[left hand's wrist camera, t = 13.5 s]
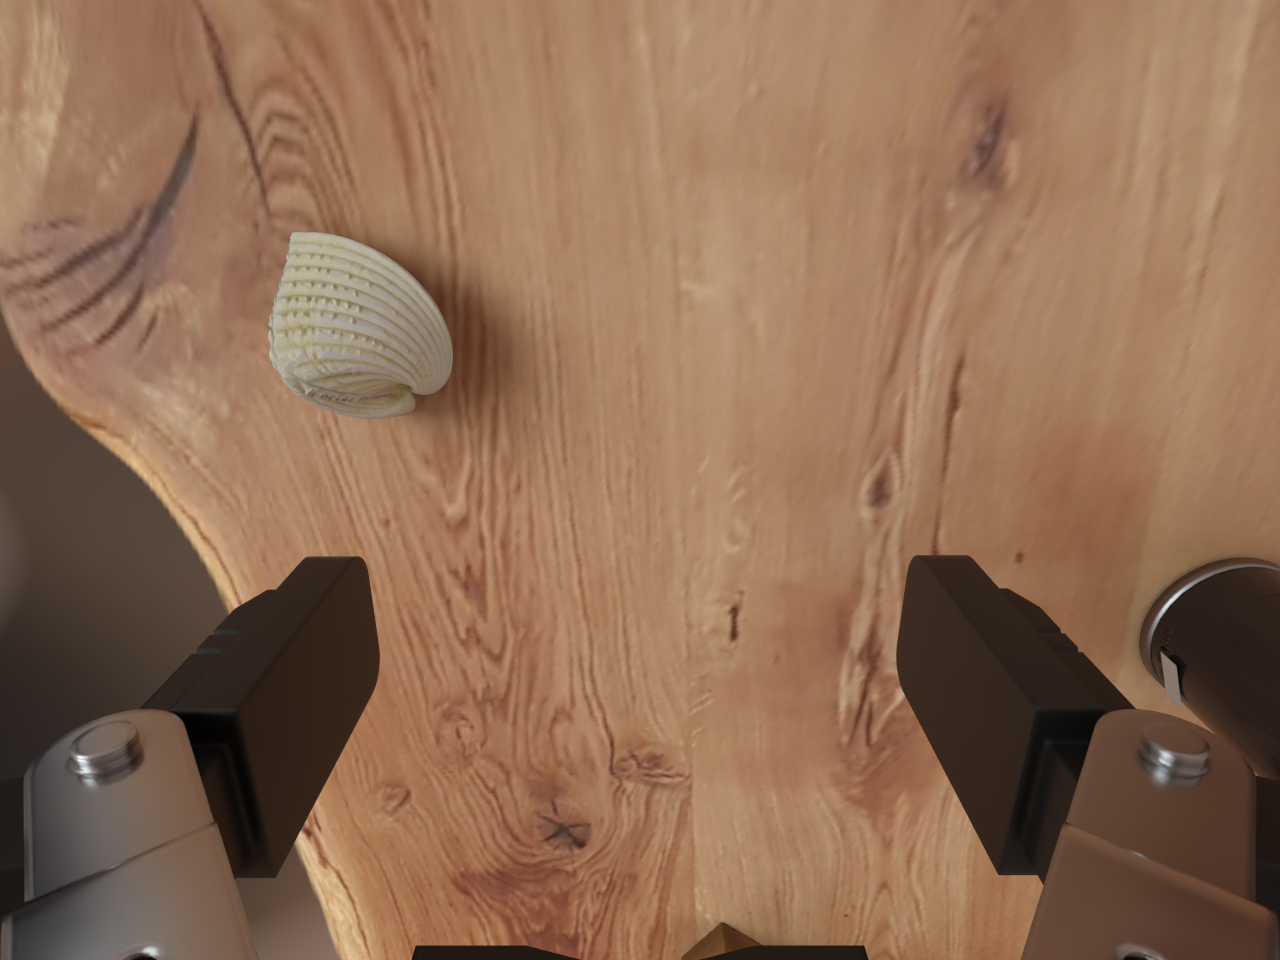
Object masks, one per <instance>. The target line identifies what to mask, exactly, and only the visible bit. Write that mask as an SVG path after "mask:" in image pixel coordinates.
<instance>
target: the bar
mask: <svg viewBox="0 0 1280 960" xmlns="http://www.w3.org/2000/svg"><path fill="white" fill-rule="evenodd" d="M751 946H761V945H759V944H758V943H756V942H754V941H753V940H751V939H749V938H747V937H746V936H744V935H742V934H741V933H739V932H737V931H736V930H734V929H732V928H730V927H729V926H727V925H725V924H724V923H721V924H719V925H718V926H717V927H716V928H715V929H714V930H713V931H711V932H710V933H709V934H708V935H707V936H706V937H705V938H703V939H702V940H701V941H700V942H699V943H698V944H697V945H695V946H694V947H693V948H692V949H691V950H690V951H688V952H687V953H686V954H685V955H684V956H683V957H682V958H681V960H701V959H704V958H708V957H712V956H716V955H720V954H724V953H728V952H731V951H735V950H739V949H743V948H747V947H751Z"/></svg>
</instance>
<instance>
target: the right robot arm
mask: <svg viewBox="0 0 1280 960" xmlns="http://www.w3.org/2000/svg"><path fill="white" fill-rule="evenodd" d="M1140 654H1141V658H1142V661H1143V663H1144V665H1145V667H1146V669H1147V670H1148V672H1149V673H1150V674H1151V675H1152V676H1153V677H1154V678H1155V679H1156V680H1157V681H1158V682H1159V683H1160V684H1161V685H1162V686H1163V687H1164V688H1165V689H1166V694H1167V695H1168V696H1169V697H1170V698H1171V699H1172V700H1173V701H1174V702H1175V703H1176V704H1177V705H1178V706H1179V707H1180V708H1181V709H1182V707H1181V702H1182V703H1183V704H1184V705H1185V706H1187V707H1188V708H1189V709H1190V710H1191V711H1192V712H1193V713H1194V714H1195V715H1196V716H1197V717H1198V718H1199V719H1200V720H1201V721H1202V722H1203V723H1204V724H1205V725H1206V726H1207V727H1208V728H1209V729H1210V730H1211V731H1212V732H1213V733H1214V734H1215V735H1217V736H1218V737H1220V738H1221V739H1223V740H1224V741H1226V742H1227V743H1229V744H1230V745H1231V746H1232V747H1234V748H1235V749H1236V750H1237V751H1238V752H1239V753H1240V754H1241V755H1242V756H1243V757H1244V758H1245V759H1246V760H1247V761H1248V763H1249V764H1250V765H1251V767H1252V769H1253V771H1254V772H1255V773H1256V774H1257V775H1258V776H1260V777H1265V778H1269V779H1274V780H1279V781H1280V567H1278V566H1276V565H1274V564H1271V563H1269V562H1266V561H1262V560H1258V559H1250V558H1235V559H1227V560H1221V561H1217V562H1213V563H1210V564H1207V565H1205V566H1202V567H1200V568H1198V569H1195V570H1194V571H1192V572H1190V573H1188V574H1186V575H1185V576H1183V577H1181V578H1180V579H1179V580H1177V581H1176V582H1174V583H1173V584H1172V585H1171V586H1170V587H1168V588H1167V589H1166V590H1165V591H1164V592H1163V593H1162V594H1161V596H1160V597H1159V598H1158V599H1157V600H1156V602H1155V603H1154V604H1153V606H1152V607H1151V609H1150V610H1149V612H1148V614H1147V616H1146V618H1145V620H1144V623H1143V626H1142V629H1141V634H1140Z"/></svg>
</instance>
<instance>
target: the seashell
mask: <svg viewBox="0 0 1280 960" xmlns="http://www.w3.org/2000/svg"><path fill="white" fill-rule="evenodd" d="M286 258H287V263H286V264H285V267H284V274H283V277H282V279H281V281H280V283H279V290H278V293H277V295H276V297H275V299H274V307H273V309H272V310H273V312H272V314H271V315H270V323H269V326H270V327H271V329H270V331H269V341H270V344H271V349H270V352H269V355H270V359H271V361H272V363H273V366H274V367H275V368H276V369H277V370H278V372H280V374H281V377H282V379H283V381H284V382H285V383H286V384H287V385H288V386H289V388H290V389H292V391H293V392H294V393H295V394H297V395H298V396H299V397H301V398H303V399H304V400H306V401H308V402H310V403H312V404H314V405H316V406H318V407H320V408H322V409H325V410H328V411H332V412H335V413H338V414H342V415H346V416H351V417H355V418H359V419H381V418H389V417H394V416H401V415H406V414H409V413H411V412H412V411H413V410H414V409H415V405H416V400H415V398H414V396H413V394H412V392H413V393H415V394H419V395H429V394H432V393H435V392H437V391H438V390H440V389H441V388H442V387H443V386H444V385H445V383H446V382H447V380H448V378H449V376H450V374H451V370H452V363H453V348H452V341H451V337H450V333H449V330H448V327H447V325H446V322H445V320H444V318H443V316H442V314H441V312H440V310H439V308H438V306H437V305H436V303H435V302H434V300H433V299H432V297H431V296H430V295H429V293H428V292H427V291H426V290H425V289H424V288H423V286H422V285H421V284H420V283H419V282H418V281H417V280H416V279H415V278H414V277H413V276H412V275H411V274H410V273H409V272H408V271H407V270H405V269H404V268H403V267H402V266H400V265H399V264H398V263H397V262H395V261H393V260H392V259H391V258H389V257H388V256H386V255H385V254H383V253H381V252H379V251H377V250H375V249H373V248H371V247H369V246H367V245H364V244H362V243H360V242H357V241H354V240H352V239H349V238H345V237H341V236H337V235H333V234H326V233H318V232H308V233H306V232H293V233H292V235H291V237H290V245H289V252H288V254H287V257H286Z"/></svg>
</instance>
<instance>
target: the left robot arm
mask: <svg viewBox="0 0 1280 960" xmlns="http://www.w3.org/2000/svg"><path fill="white" fill-rule="evenodd" d="M1060 630H1061V629H1060V628H1059V627H1058V626H1057V625H1056V624H1055V623H1054V622H1053V621H1052V620H1051V618H1050V617H1049V616H1048V615H1047V614H1046V613H1045V612H1044V611H1043V610H1042V609H1041V608H1040V607H1039V606H1037V605H1035V604H1033V603H1032V602H1030V601H1028V600H1027V599H1025V598H1023V597H1021V596H1020V595H1018V594H1016V593H1015V592H1013V591H1011V590H1009V589H1008V588H998V587H997V586H996V584H995V583H994V582H993V581H992V580H991V579H990V578H989V577H988V575H987V574H986V573H985V572H984V571H983V570H982V569H981V568H980V566H979V565H978V564H977V563H976V562H975V561H974V560H973V559H972V558H971V557H970V556H967V555H917V556H914V557H913V558H912V560H911V562H910V564H909V568H908V572H907V579H906V586H905V593H904V600H903V607H902V614H901V621H900V628H899V635H898V642H897V652H896V660H897V671H898V676H899V681H900V684H901V687H902V690H903V692H904V694H905V696H906V698H907V700H908V702H909V704H910V706H911V707H912V709H913V711H914V713H915V715H916V717H917V719H918V721H919V723H920V725H921V727H922V729H923V731H924V732H925V734H926V736H927V738H928V740H929V742H930V744H931V746H932V748H933V750H934V752H935V754H936V756H937V758H938V759H939V761H940V763H941V765H942V767H943V769H944V771H945V773H946V775H947V777H948V779H949V781H950V783H951V785H952V786H953V788H954V790H955V792H956V794H957V796H958V798H959V800H960V802H961V804H962V806H963V808H964V810H965V812H966V813H967V815H968V817H969V819H970V821H971V823H972V825H973V827H974V829H975V831H976V833H977V835H978V837H979V839H980V840H981V842H982V844H983V846H984V848H985V850H986V852H987V854H988V856H989V858H990V860H991V862H992V864H993V866H994V867H995V869H996V871H997V873H998V875H1038V876H1039V878H1040V880H1041V882H1042V883H1043V885H1044V886H1043V889H1042V892H1041V896H1040V899H1039V902H1038V905H1037V908H1036V912H1035V915H1034V918H1033V921H1032V925H1031V928H1030V931H1029V934H1028V937H1027V941H1026V944H1025V947H1024V950H1023V954H1022V957H1021V960H1280V781H1279V780H1274V779H1269V778H1265V777H1260V776H1255V773H1254V771H1253V769H1252V767H1251V765H1250V764H1249V763H1248V761H1247V760H1246V759H1245V758H1244V757H1243V756H1242V755H1241V754H1240V753H1239V752H1238V751H1237V750H1236V749H1235V748H1234V747H1232V746H1231V745H1230V744H1229V743H1227V742H1226V741H1224V740H1223V739H1221V738H1220V737H1218V736H1217V735H1215V734H1213V733H1212V732H1210V731H1208V730H1206V729H1204V728H1202V727H1200V726H1198V725H1196V724H1193V723H1191V722H1189V721H1186V720H1183V719H1181V718H1178V717H1175V716H1171V715H1168V714H1164V713H1159V712H1155V711H1149V710H1141V709H1136V708H1135V707H1134V706H1133V705H1132V704H1131V703H1130V702H1129V701H1128V700H1127V699H1126V698H1125V697H1124V696H1123V695H1122V694H1121V693H1120V692H1119V690H1118V689H1117V688H1116V687H1115V686H1114V685H1113V684H1112V683H1111V682H1110V681H1109V680H1108V679H1107V678H1106V677H1105V676H1104V675H1103V674H1102V672H1101V671H1100V670H1099V669H1098V668H1097V667H1096V666H1095V665H1094V664H1093V663H1092V662H1091V661H1090V660H1089V659H1088V658H1087V657H1086V656H1085V654H1084V653H1083V652H1078V647H1077V646H1076V645H1075V644H1074V643H1073V642H1072V641H1071V640H1070V639H1069V638H1068V636H1067V635H1066V634H1061V632H1060ZM379 663H380V651H379V643H378V636H377V629H376V622H375V615H374V608H373V601H372V594H371V588H370V581H369V574H368V569H367V566H366V563H365V561H364V560H363V559H362V558H361V557H306V558H305V559H303V560H302V561H301V562H300V564H299V565H298V566H297V567H296V568H295V569H294V570H293V571H292V573H291V574H290V575H289V576H288V577H287V578H286V579H285V580H284V581H283V583H282V584H281V585H280V586H279V587H278V588H277V589H276V590H266V591H265V592H263V593H261V594H260V595H258V596H256V597H254V598H253V599H251V600H249V601H247V602H246V603H244V604H242V605H241V606H239V607H237V608H235V609H234V610H233V611H232V612H231V614H230V615H229V616H228V617H227V618H226V619H225V620H224V621H223V622H222V623H221V624H220V625H219V626H218V627H217V628H216V629H215V630H214V635H210V636H209V637H208V638H207V639H206V640H205V641H204V642H203V643H202V644H201V645H200V646H199V647H198V648H197V652H196V654H191V655H190V657H189V658H188V659H187V660H186V661H185V662H184V663H183V664H182V665H181V666H180V667H179V668H178V669H177V670H176V671H175V672H174V673H173V674H172V675H171V676H170V677H169V679H168V680H167V681H166V682H165V683H164V684H163V685H162V686H161V687H160V688H159V689H158V690H157V691H156V692H155V693H154V694H153V695H152V696H151V698H150V699H149V700H148V701H147V702H146V703H145V704H144V705H143V706H142V707H141V708H140V709H139V710H131V711H125V712H121V713H116V714H112V715H109V716H105V717H102V718H99V719H97V720H94V721H91V722H89V723H87V724H84V725H82V726H80V727H78V728H76V729H74V730H72V731H70V732H68V733H67V734H65V735H63V736H62V737H60V738H59V739H57V740H56V741H54V742H53V743H51V744H50V745H49V746H48V747H46V748H45V749H44V750H43V751H42V752H41V753H40V754H39V755H38V756H37V757H36V758H35V759H34V760H33V762H32V763H31V764H30V766H29V767H28V769H27V771H26V773H25V776H24V777H21V778H16V779H12V780H6V781H2V782H0V960H259V957H258V954H257V950H256V947H255V944H254V941H253V938H252V934H251V931H250V928H249V925H248V921H247V918H246V915H245V912H244V909H243V905H242V902H241V899H240V896H239V892H238V889H237V886H236V883H235V879H236V878H276V876H277V874H278V872H279V871H280V869H281V867H282V865H283V863H284V861H285V859H286V857H287V855H288V853H289V851H290V850H291V848H292V846H293V844H294V842H295V840H296V838H297V836H298V834H299V832H300V831H301V829H302V827H303V825H304V823H305V821H306V819H307V817H308V815H309V813H310V812H311V810H312V808H313V806H314V804H315V802H316V800H317V798H318V796H319V794H320V792H321V791H322V789H323V787H324V785H325V783H326V781H327V779H328V777H329V775H330V773H331V772H332V770H333V768H334V766H335V764H336V762H337V760H338V758H339V756H340V754H341V752H342V751H343V749H344V747H345V745H346V743H347V741H348V739H349V737H350V735H351V733H352V732H353V730H354V728H355V726H356V724H357V722H358V720H359V718H360V716H361V714H362V713H363V711H364V709H365V707H366V705H367V703H368V701H369V699H370V697H371V695H372V693H373V691H374V689H375V686H376V682H377V678H378V673H379ZM412 960H579V959H576V958H572V957H568V956H564V955H560V954H556V953H552V952H549V951H545V950H541V949H537V948H533V947H529V946H416V947H415V950H414V954H413V957H412ZM701 960H868V957H867V954H866V950H865V947H864V946H751V947H747V948H743V949H739V950H735V951H731V952H728V953H724V954H720V955H716V956H712V957H708V958H704V959H701Z"/></svg>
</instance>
